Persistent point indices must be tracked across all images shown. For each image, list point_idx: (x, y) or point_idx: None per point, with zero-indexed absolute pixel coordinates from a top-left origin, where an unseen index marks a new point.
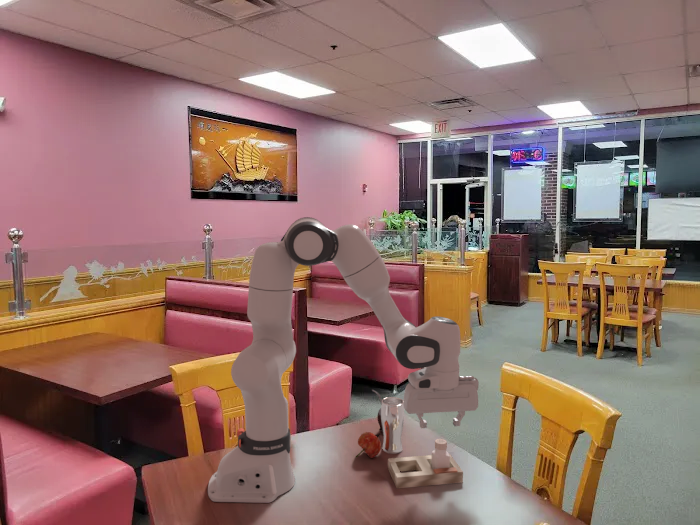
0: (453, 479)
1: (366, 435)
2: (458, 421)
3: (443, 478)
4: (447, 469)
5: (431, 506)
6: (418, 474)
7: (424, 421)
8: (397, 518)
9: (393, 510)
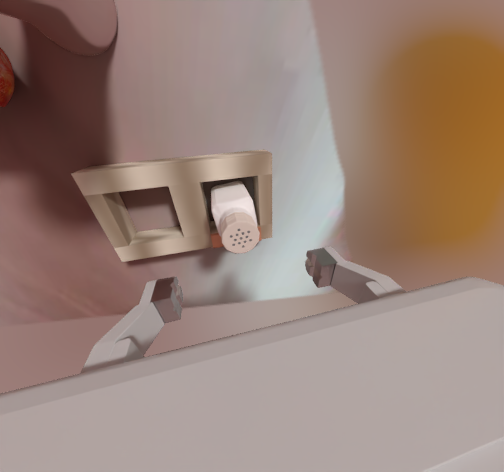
0: None
1: None
2: (328, 282)
3: None
4: None
5: (197, 285)
6: (173, 249)
7: (166, 315)
8: None
9: (133, 298)
